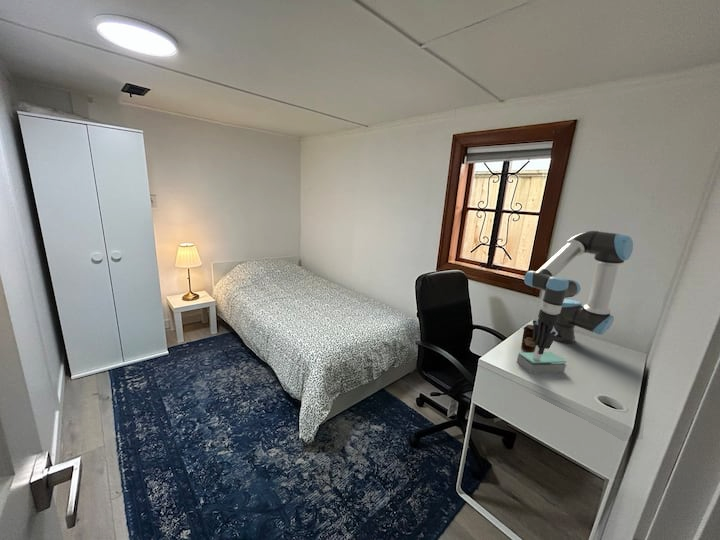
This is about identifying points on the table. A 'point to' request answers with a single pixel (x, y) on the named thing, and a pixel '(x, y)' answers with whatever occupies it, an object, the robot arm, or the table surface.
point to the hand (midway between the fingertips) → (536, 358)
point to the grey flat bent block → (540, 366)
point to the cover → (543, 358)
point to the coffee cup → (528, 339)
